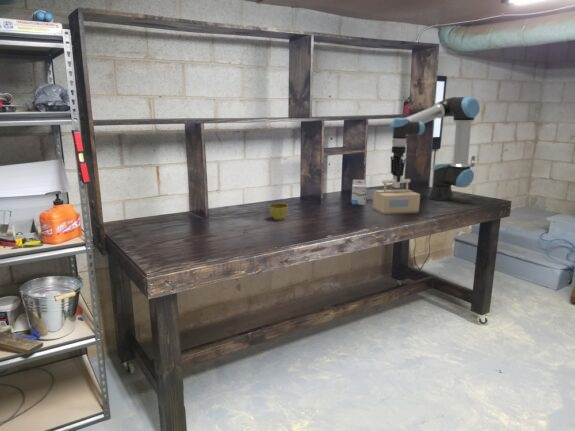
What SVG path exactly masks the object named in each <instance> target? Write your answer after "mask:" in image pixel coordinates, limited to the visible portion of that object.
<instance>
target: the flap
mask: <svg viewBox="0 0 575 431" xmlns="http://www.w3.org/2000/svg"><path fill="white" fill-rule="evenodd" d="M381 183H382V184H383V189H381V190H379V189H378V190H374V192H378V193H392V192H413V189H409V183H411V178H400V184H401V183H405V189H387V184H393V183H395V179H394V180H393V179H382V181H381Z"/></svg>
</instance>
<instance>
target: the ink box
mask: <svg viewBox="0 0 575 431" xmlns="http://www.w3.org/2000/svg"><path fill="white" fill-rule="evenodd" d="M367 187H368V186H367V180H366V179H352V185H351V200H350V203H351V205H357V206H359V205H361V206H365V205H366V203H367V201H366V200H367V199H366V198H367Z"/></svg>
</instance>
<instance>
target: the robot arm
mask: <svg viewBox="0 0 575 431" xmlns="http://www.w3.org/2000/svg"><path fill="white" fill-rule="evenodd" d="M480 108H481V107H480V103H479V101H478V100H477V98H475V97H472V96H471V97H470V96H451V97H449V98H445V99H443V100H441V101H438V102H436V103H435V104H433V106H430V107H428V108H425V109H424V110H421V111H419V112H417V113H414V114H412V115H409V116H407V117H395V118H394V120H392V121H390V123H389V130H390V132H391V133H392V140H391V141H392V142H391V144H392V146H391V153H392V154H393V155H392V156H390V173H391V175H392V180H394V179H395V183H392V187H393V188H396V189H399V188H401V187H400V186H401V185H400V184H401V183H400V179H401V177H402V176H403V175H404V172H405V164H406V161H407V159H406V158H404V154H405V153H406V146H407V136H418V135H419V136H421V135H423V134H424V132H425V130H426V125H425V124H426V123H428V122H431V121H433V120H436V119H442V118H445V117H453V122H454V123H455V131H454V132H455V133H454V145H453V157H452V158H453V160H452V163H438V164H437V163H436V164H435V165H434V167H433V175H432V177H433V178H432V184H431V186H432V187H431V188H430V191H429V193H428V199H430V200H433V201H439V202H440V201H441V202H447V201H448V202H450V201H453V199H454V195H453V191H452V186H454V187H457V188H466V187H468V186H470V185H471V184H472V182H473V181H474V178H475V174H474V171H473V170H472V169H471V164H470V163H469V156H470V155H469V154H470V145H471V144H470V141H471V131H472V123H473V122H474V121H475V118H476V117H477V116H478V114H479V113H480V110H481V109H480Z"/></svg>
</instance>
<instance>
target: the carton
mask: <svg viewBox="0 0 575 431" xmlns="http://www.w3.org/2000/svg"><path fill="white" fill-rule="evenodd" d="M372 200H373V201H372V209H373V210H374V211H376V212H377V213H380V214H382V215H397V214H399V215H400V214H401V215H402V214H415V213H419V211H420V202H421V194H420V193H419V192H415V191H412V192H392V193H378V192H375V191H374V192H373V199H372Z"/></svg>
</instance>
